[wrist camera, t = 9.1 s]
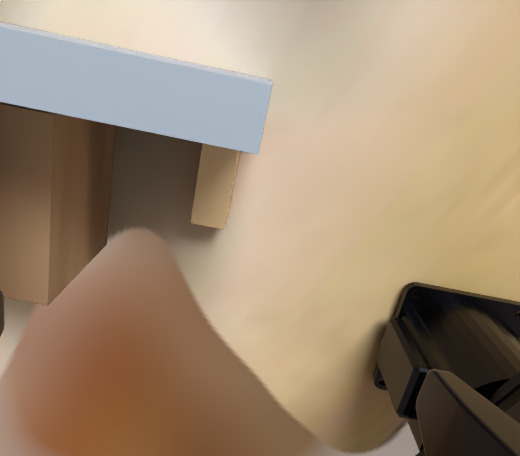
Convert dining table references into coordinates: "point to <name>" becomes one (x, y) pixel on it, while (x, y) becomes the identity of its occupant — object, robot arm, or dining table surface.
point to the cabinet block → (51, 199)
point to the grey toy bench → (142, 101)
